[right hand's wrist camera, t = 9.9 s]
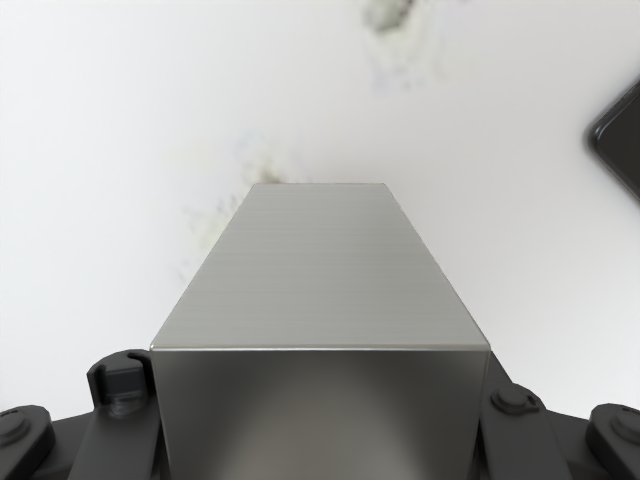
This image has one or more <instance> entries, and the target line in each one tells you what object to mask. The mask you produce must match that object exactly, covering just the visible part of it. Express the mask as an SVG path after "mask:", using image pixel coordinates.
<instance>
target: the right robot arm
mask: <svg viewBox="0 0 640 480" xmlns="http://www.w3.org/2000/svg"><path fill="white" fill-rule="evenodd" d="M87 379H88V383H89V387H90V391H91V395H92V399H93V403H94V410H93V412H90V413H86V414H83V415H79V416H75V417H70V418H66V419H61V420H57V421H53V422H52V421H51V417H50V414H49V412H48V411H47V410H46V409H45V408H44V407H41V406H35V405H28V406H19V407H16V408H13V409H9V410H6V411H3V412H1V413H0V480H172V478H171V473H170V467H169V461H168V455H167V449H166V443H165V438H164V432H163V426H162V420H161V414H160V409H159V403H158V397H157V391H156V385H155V379H154V374H153V368H152V362H151V356H150V351H146V350H143V349H129V350H125V351H121V352H116V353H114V354H111V355H109V356H107V357H104V358H103V359H101V360H100V361H98V362H97V363H96V364H94V365H93V366H92V367H91V368H90V370H89V371H88V372H87ZM469 480H640V411H639V410H637V409H634V408H630V407H627V406H624V405H619V404H610V403H608V404H602V405H598V406H596V407H595V408H594V409H593V410H592V412H591V415H590V418H589V420H586V419H582V418H578V417H573V416H569V415H564V414H560V413H556V412H553V411H550V410H547V409H546V407H545V406H544V404H543V402H542V401H541V399H540V398H539V397H538V396H536V395H535V394H534V393H533V392H531V391H530V390H528V389H526V388H524V387H522V386H520V385H518V384H515V383H513V382H512V381H511V379H510V378H509V376H508V375H507V373H506V372H505V370H504V369H503V367H502V365H501V364H500V362H499V361H498V359H497V358H496V356H495V355H494V353H493V351H491V353H490V358H489V364H488V370H487V376H486V382H485V387H484V393H483V399H482V405H481V411H480V416H479V422H478V428H477V434H476V440H475V446H474V451H473V457H472V463H471V469H470V475H469Z"/></svg>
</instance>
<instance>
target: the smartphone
mask: <svg viewBox="0 0 640 480" xmlns="http://www.w3.org/2000/svg"><path fill="white" fill-rule="evenodd" d="M588 145H589V147H590V149H591V151H592V152H593V153H594V154H595V155H596V157H597V158H598V159H599V160H600V161H601V162H602V163H603V164H604V165H605V166H606V167H607V168H608V169H609V170H610V171H611V172H612V173H613V174H614V175H615V176H616V177H617V178H618V179H619V180H620V181H621V182H622V183H623V184H624V186H625V187H626V188H627V189H628V190H629V191H630V192H631V193H632V194H633V195H634V196H635V197H636V198H637V199H638V200H639V201H640V81H639V82H638V83H637V84H636V85H635V86H634V87H633V88H632V89H631V90H630V91H629V92H628V93H627V94H626V95H625V96H624V97H623V98H622V99H621V100H620V101H619V102H618V103H617V104H616V105H615V106H614V107H613V108H612V109H611V110H610V111H609V112H607V113H606V114H605V115H604V116H603V117H602V118H601V119H600V120H599V121H598V122H597V123H596V124H595V126H594V127H593V128H592V130H591V131H590V133H589V136H588Z"/></svg>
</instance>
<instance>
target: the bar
mask: <svg viewBox="0 0 640 480" xmlns="http://www.w3.org/2000/svg"><path fill="white" fill-rule="evenodd" d="M149 350H150V356H151V362H152V368H153V374H154V379H155V385H156V391H157V397H158V403H159V409H160V414H161V420H162V426H163V432H164V438H165V443H166V449H167V455H168V461H169V467H170V473H171V478H172V480H469V475H470V469H471V463H472V457H473V451H474V446H475V440H476V434H477V428H478V422H479V416H480V411H481V405H482V399H483V393H484V387H485V382H486V376H487V370H488V364H489V358H490V353H491V346H490V344H489V342H488V340H487V339H486V337H485V336H484V334H483V333H482V331H481V330H480V328H479V327H478V325H477V324H476V322H475V321H474V319H473V318H472V316H471V315H470V313H469V311H468V310H467V308H466V307H465V305H464V304H463V302H462V301H461V299H460V298H459V296H458V295H457V293H456V292H455V290H454V289H453V287H452V285H451V284H450V282H449V281H448V279H447V278H446V276H445V275H444V273H443V272H442V270H441V269H440V267H439V266H438V264H437V263H436V261H435V260H434V258H433V256H432V255H431V253H430V252H429V250H428V249H427V247H426V246H425V244H424V243H423V241H422V240H421V238H420V237H419V235H418V234H417V232H416V231H415V229H414V227H413V226H412V224H411V223H410V221H409V220H408V218H407V217H406V215H405V214H404V212H403V211H402V209H401V208H400V206H399V205H398V203H397V201H396V200H395V198H394V197H393V195H392V194H391V192H390V191H389V189H388V188H387V186H386V185H385V184H254V186H253V187H252V189H251V190H250V192H249V193H248V195H247V197H246V198H245V200H244V201H243V203H242V204H241V206H240V207H239V209H238V210H237V212H236V213H235V215H234V217H233V218H232V220H231V221H230V223H229V224H228V226H227V227H226V229H225V230H224V232H223V233H222V235H221V237H220V238H219V240H218V241H217V243H216V244H215V246H214V247H213V249H212V250H211V252H210V253H209V255H208V257H207V258H206V260H205V261H204V263H203V264H202V266H201V267H200V269H199V270H198V272H197V274H196V275H195V277H194V278H193V280H192V281H191V283H190V284H189V286H188V287H187V289H186V290H185V292H184V294H183V295H182V297H181V298H180V300H179V301H178V303H177V304H176V306H175V307H174V309H173V310H172V312H171V314H170V315H169V317H168V318H167V320H166V321H165V323H164V324H163V326H162V327H161V329H160V331H159V332H158V334H157V335H156V337H155V338H154V340H153V341H152V343H151V345H150V348H149Z"/></svg>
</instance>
